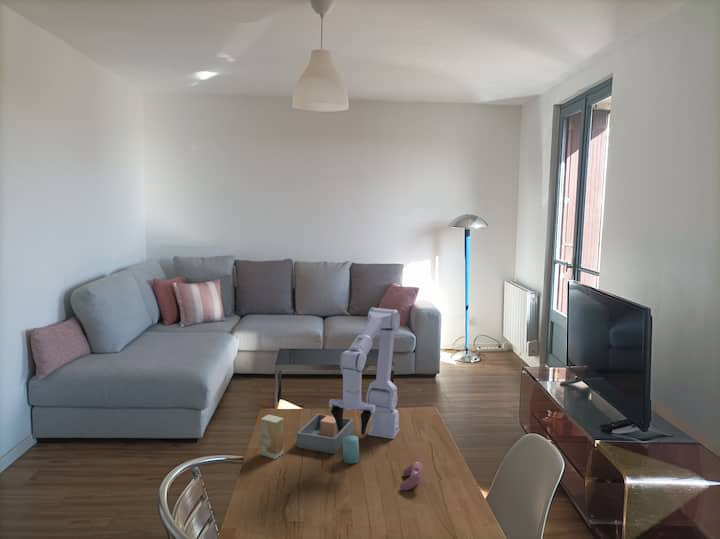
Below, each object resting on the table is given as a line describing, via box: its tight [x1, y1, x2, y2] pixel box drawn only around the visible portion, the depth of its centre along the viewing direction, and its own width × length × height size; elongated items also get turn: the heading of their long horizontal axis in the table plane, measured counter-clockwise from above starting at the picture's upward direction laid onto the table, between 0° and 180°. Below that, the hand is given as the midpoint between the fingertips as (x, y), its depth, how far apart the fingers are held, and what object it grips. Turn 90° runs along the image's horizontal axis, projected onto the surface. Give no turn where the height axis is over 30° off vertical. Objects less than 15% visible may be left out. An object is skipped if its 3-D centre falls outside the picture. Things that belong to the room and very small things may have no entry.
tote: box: [296, 413, 355, 455], centre depth 187 cm, size 14×18×5 cm
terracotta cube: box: [320, 415, 339, 437], centre depth 190 cm, size 5×5×5 cm
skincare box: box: [260, 414, 285, 460], centre depth 175 cm, size 6×4×12 cm
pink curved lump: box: [399, 460, 424, 491], centre depth 159 cm, size 10×5×7 cm, turn 170°
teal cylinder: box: [342, 434, 361, 465], centre depth 172 cm, size 5×5×7 cm
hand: (351, 431), depth 172 cm, fingers open, 7 cm apart
